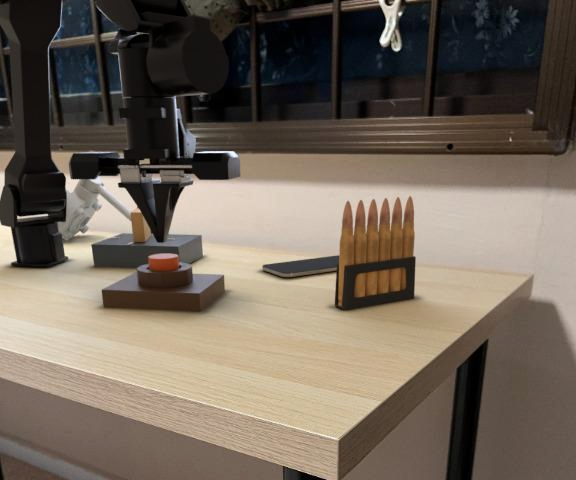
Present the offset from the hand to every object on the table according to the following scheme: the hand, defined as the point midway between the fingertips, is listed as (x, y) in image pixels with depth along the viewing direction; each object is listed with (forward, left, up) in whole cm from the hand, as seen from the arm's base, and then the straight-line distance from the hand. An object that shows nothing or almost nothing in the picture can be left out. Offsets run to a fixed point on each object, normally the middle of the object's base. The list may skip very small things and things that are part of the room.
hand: (162, 242), depth 73 cm
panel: (-11, +22, -7) cm, 26 cm away
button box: (0, 0, -7) cm, 7 cm away
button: (0, 0, -3) cm, 3 cm away
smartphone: (+16, +20, -7) cm, 27 cm away
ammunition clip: (+26, +2, -7) cm, 27 cm away
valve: (-28, +41, -7) cm, 51 cm away
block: (-12, +22, -3) cm, 26 cm away
